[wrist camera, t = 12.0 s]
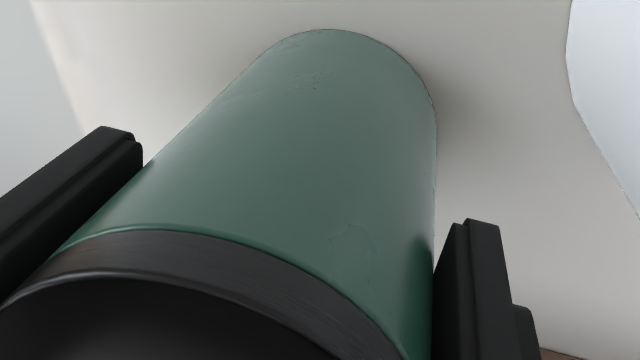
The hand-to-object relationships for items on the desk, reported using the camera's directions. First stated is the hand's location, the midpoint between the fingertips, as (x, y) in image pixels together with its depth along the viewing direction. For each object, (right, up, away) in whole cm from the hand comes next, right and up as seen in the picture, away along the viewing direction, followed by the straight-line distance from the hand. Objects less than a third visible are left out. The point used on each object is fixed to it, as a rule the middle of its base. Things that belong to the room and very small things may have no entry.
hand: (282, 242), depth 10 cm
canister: (+1, +3, +4) cm, 5 cm away
